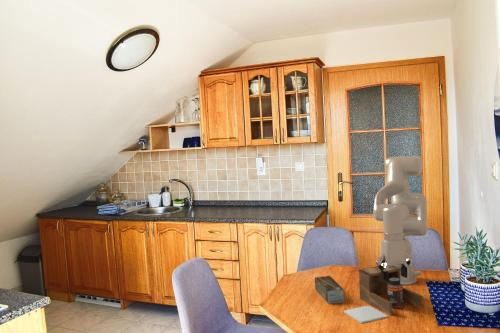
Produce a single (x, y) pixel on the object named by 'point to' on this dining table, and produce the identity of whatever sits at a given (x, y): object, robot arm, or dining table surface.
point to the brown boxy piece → (383, 289)
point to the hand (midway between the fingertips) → (394, 278)
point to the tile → (365, 314)
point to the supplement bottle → (395, 293)
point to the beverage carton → (329, 289)
